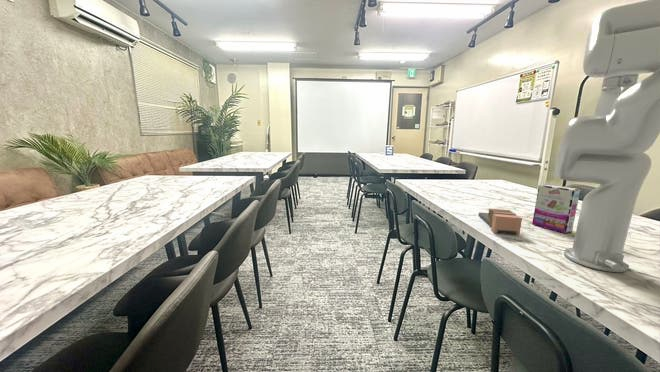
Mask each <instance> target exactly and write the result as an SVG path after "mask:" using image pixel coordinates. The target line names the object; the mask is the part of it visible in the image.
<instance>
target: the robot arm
mask: <svg viewBox="0 0 660 372" xmlns="http://www.w3.org/2000/svg"><path fill="white" fill-rule="evenodd" d="M582 68H583V72H584V74H585V75H586V76H587V77H590V78H599V79H600V78H603V80H602V85H601V90H600V91H601V92H600V94H599V97H598V101H597V103H596V107H595V112H594V114H590V115H580V116H575V117H574V118H572V119H570V120H569V121H568V122H567V123H566V125H565V127H564V129H563V132H562V136H561V138H560V139H561V140H560V144H559V148H558V153H557V157H556V161H555V169H554V170H555V175H556V177H558V178H559V179H560V180H563V181H569V182H577V183H586V184H587V183H588V184H596V185H598V186H597V187H596V188H594V189H592V190H591V191H589V192H588V193H587V194H586V195H585V196H584V198H583V199H582V202H581V207H580V211H579V216H578V221H577V226H576V231H575V233H574V234H575V235H574V240H573V244H572V247H569V248H566V249H564V251H563V255H564V256H565V257H566V258H567V259H568V260H570V261H572V262H574V263H576V264H579V265H581V266H584V267H588V268H590V269H595V270H598V271H604V272H610V273H624V272H627V271H628V270H629V268H630V265H629V264H628V263H627V262H625V261H624V259H625V255H624V254H623V251H624V248H625V245H626V240H627V237H628V233H629V229H630V226H631V221H632V218H633V214H634V209H635V206H636V203H637V200H638V199H637V198H638V196H639V194H640V190H641V188H642V186H643V184H644V182H645V180H646V178H647V176H648V174H649V172H650V170H651V167H652V159H651V157H650V156H649V154H647V153H645V152H647V151H649V149H650V148H651V147H652V146H653V145H654V143H655V142H656V140H657V139H658V137H659V135H660V0H641V1H638V2H633V3H629V4H623V5H619V6H615V7H611V8H608V9H606V10H604V11H603V12H601V13H600V14H599V15H598V16H596V19H595V20H594V21H593V22H592V25H591V27H590V29H589V32H588V35H587V39H586V45H585V51H584V57H583V63H582ZM649 73H650V74H651V75H649V76H648V77H646V78H644V79H641V80H640V81H639V82H638V79H639V76H640V74H649Z"/></svg>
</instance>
